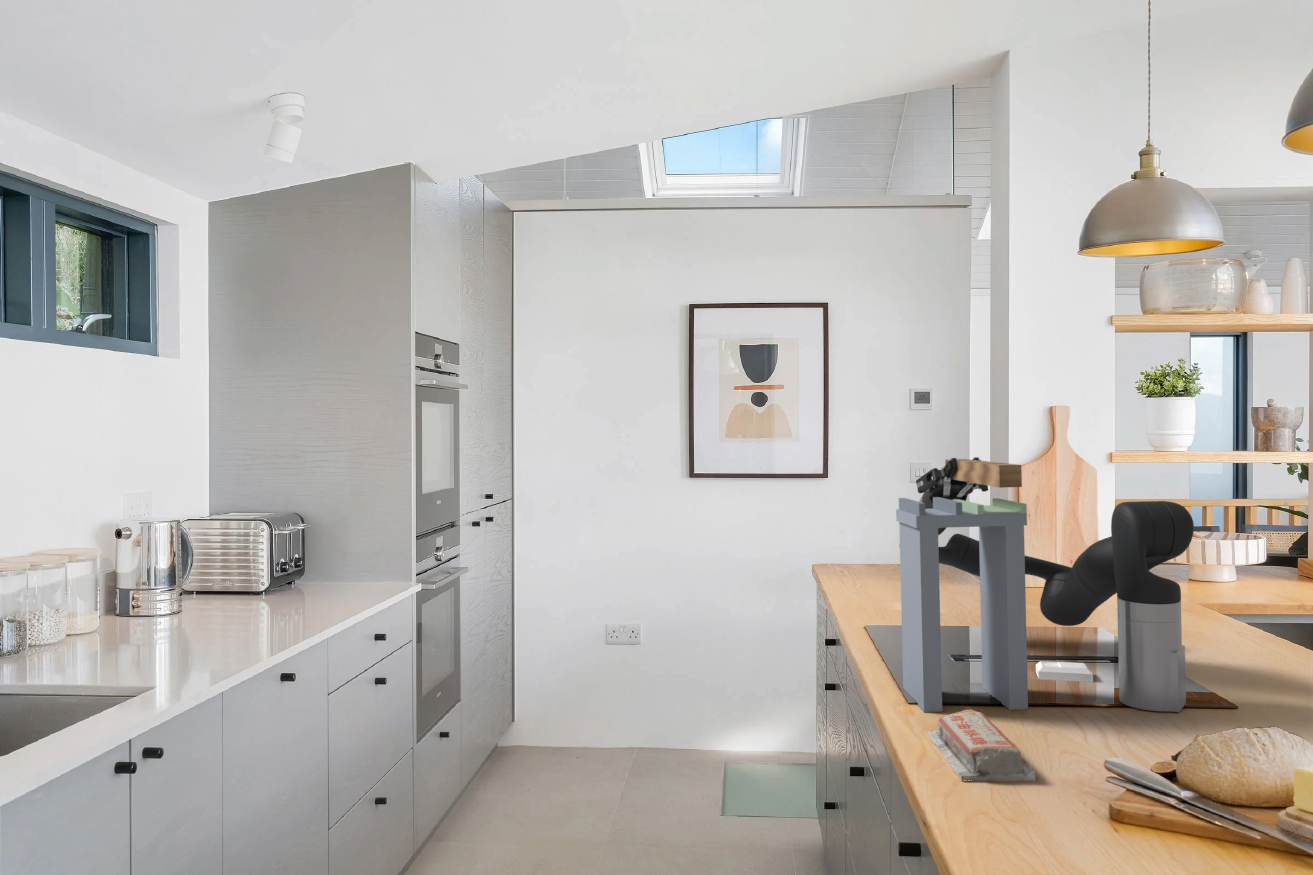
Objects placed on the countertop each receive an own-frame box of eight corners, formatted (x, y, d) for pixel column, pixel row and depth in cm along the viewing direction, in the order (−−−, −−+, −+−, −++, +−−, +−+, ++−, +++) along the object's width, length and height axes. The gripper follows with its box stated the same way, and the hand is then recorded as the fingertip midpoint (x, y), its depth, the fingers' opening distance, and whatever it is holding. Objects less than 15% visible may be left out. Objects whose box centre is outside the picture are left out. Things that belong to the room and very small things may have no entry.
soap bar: (1093, 684, 161) (1092, 669, 161) (1038, 681, 164) (1038, 666, 164) (1088, 676, 166) (1088, 662, 166) (1035, 674, 168) (1035, 659, 168)
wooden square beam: (945, 478, 168) (945, 459, 168) (964, 477, 168) (963, 458, 168) (999, 487, 142) (999, 465, 142) (1021, 486, 142) (1021, 464, 142)
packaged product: (1037, 747, 117) (960, 748, 118) (1038, 784, 117) (961, 785, 118) (992, 705, 135) (925, 706, 136) (993, 737, 135) (926, 738, 136)
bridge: (900, 690, 158) (895, 498, 158) (1002, 688, 159) (998, 495, 158) (920, 712, 146) (916, 503, 146) (1031, 709, 147) (1026, 500, 146)
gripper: (902, 486, 179) (923, 444, 164) (972, 484, 179) (1001, 442, 164) (908, 521, 175) (931, 481, 160) (980, 519, 175) (1010, 479, 160)
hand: (966, 462), depth 162 cm, fingers closed on wooden square beam, 3 cm apart
